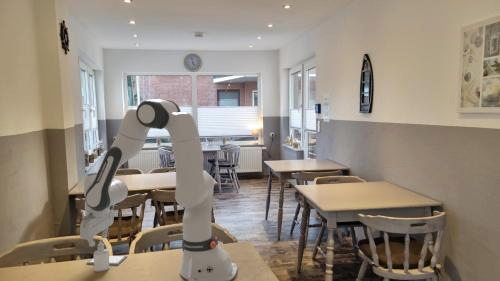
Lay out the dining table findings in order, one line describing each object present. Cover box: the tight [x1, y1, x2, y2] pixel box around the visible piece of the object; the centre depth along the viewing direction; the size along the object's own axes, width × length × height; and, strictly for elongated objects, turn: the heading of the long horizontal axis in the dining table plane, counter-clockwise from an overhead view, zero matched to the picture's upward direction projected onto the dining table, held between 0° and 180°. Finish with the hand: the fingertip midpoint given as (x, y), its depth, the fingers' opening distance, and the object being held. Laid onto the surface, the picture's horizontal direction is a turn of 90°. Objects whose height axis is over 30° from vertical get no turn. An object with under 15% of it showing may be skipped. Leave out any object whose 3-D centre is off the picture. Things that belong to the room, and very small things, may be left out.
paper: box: [89, 255, 126, 263], centre depth 147 cm, size 12×7×1 cm, turn 84°
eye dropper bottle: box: [93, 240, 111, 273], centre depth 138 cm, size 4×6×12 cm
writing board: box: [86, 255, 128, 266], centre depth 147 cm, size 14×8×1 cm, turn 84°
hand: (98, 241), depth 145 cm, fingers open, 8 cm apart
